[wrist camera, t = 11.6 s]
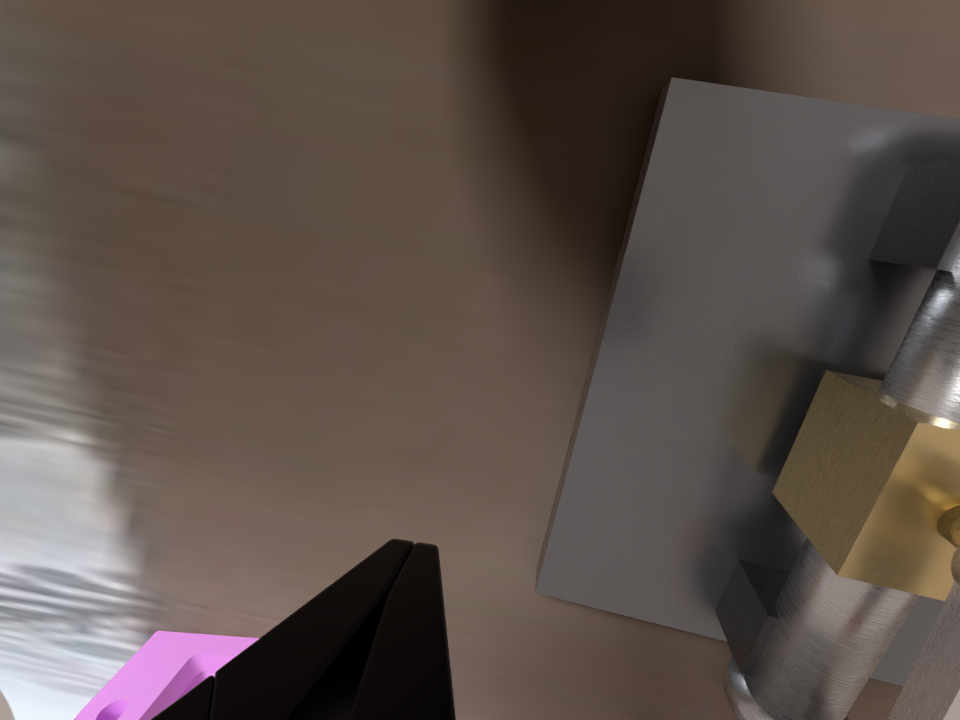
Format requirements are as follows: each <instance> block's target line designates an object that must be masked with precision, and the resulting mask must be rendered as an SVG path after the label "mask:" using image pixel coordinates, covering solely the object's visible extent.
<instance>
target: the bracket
mask: <svg viewBox="0 0 960 720" xmlns="http://www.w3.org/2000/svg"><path fill="white" fill-rule="evenodd" d="M258 639H259V638H246V637H233V636H220V635H206V634H193V633H180V632H167V631H157V632H156V633H155V634H154V635H153V636H152V637H151V638H150V639H149V640H148V641H147V642H146V643H145V644H144V645H143V646H142V647H141V648H140V649H139V650H138V652H137V653H136V654H135V655H134V656H133V657H132V658H131V659H130V660H129V661H128V662H127V663H126V664H125V665H124V666H123V667H122V668H121V669H120V670H119V671H118V673H117V674H116V675H115V676H114V677H113V678H112V679H111V680H110V681H109V682H108V683H107V684H106V685H105V686H104V687H103V688H102V689H101V690H100V691H99V693H98V694H97V695H96V696H95V697H94V698H93V699H92V700H91V701H90V702H89V703H88V704H87V705H86V706H85V707H84V708H83V709H82V710H81V712H80V713H79V714H78V715H77V716H76V718H75V719H74V720H150V719H152V718H153V717H154V716H156V715H157V714H159V713H160V712H161V711H163V710H164V709H166V708H167V707H168V706H170V705H171V704H172V703H174V702H175V701H177V700H178V699H179V698H181V697H182V696H183V695H185V694H186V693H187V692H189V691H190V690H191V689H193V688H194V687H195V686H197V685H198V684H199V683H201V682H202V681H203V680H205V679H206V678H207V677H209V676H211V675H212V676H214V677H215V672H216V671H217V670H218V669H220V668H221V667H222V666H224V665H225V664H226V663H228V662H229V661H230V660H232V659H233V658H234V657H236V656H237V655H238V654H240V653H241V652H242V651H244V650H245V649H246V648H248V647H249V646H250V645H252V644H253V643H254V642H256V641H257V640H258Z"/></svg>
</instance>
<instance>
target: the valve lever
mask: <svg viewBox="0 0 960 720" xmlns="http://www.w3.org/2000/svg"><path fill="white" fill-rule="evenodd" d="M951 572H952V576H953V579H954V583H953V585H952V588H951V590H950V592H949V594H948V596H947V598H946V600H945V602H944V604H943V606H942V608H941V610H940V612H939V614H938V616H937V618H936V620H935V622H934V624H933V626H932V629H931V631H930V633H929V635H928V637H927V639H926V641H925V643H924V645H923V647H922V649H921V651H920V653H919V655H918V657H917V659H916V661H915V663H914V665H913V667H912V670H911V672H910V674H909V676H908V678H907V680H906V682H905V684H904V686H903V688H902V690H901V692H900V694H899V696H898V698H897V700H896V702H895V704H894V706H893V709H892V711H891V713H890V715H889V717H888V719H887V720H960V544H959V546H958V547H957V549H956V551H955V552H954V555H953V557H952V561H951Z"/></svg>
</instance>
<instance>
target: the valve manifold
mask: <svg viewBox="0 0 960 720" xmlns="http://www.w3.org/2000/svg"><path fill="white" fill-rule="evenodd" d="M959 544H960V119H954V118H947V117H940V116H933V115H927V114H920V113H913V112H906V111H899V110H892V109H886V108H879V107H872V106H865V105H858V104H851V103H845V102H838V101H831V100H824V99H817V98H810V97H804V96H797V95H790V94H783V93H776V92H769V91H763V90H756V89H749V88H742V87H735V86H729V85H722V84H715V83H708V82H701V81H694V80H688V79H681V78H674V77H672V78H671V79H670V80H669V81H668V82H667V83H666V85H665V86H664V87H663V88H662V90H661V94H660V98H659V102H658V105H657V109H656V113H655V117H654V121H653V125H652V128H651V132H650V136H649V140H648V144H647V148H646V151H645V155H644V159H643V163H642V167H641V171H640V174H639V178H638V182H637V186H636V190H635V194H634V198H633V201H632V205H631V209H630V213H629V217H628V221H627V224H626V228H625V232H624V236H623V240H622V244H621V247H620V251H619V255H618V259H617V263H616V267H615V270H614V274H613V278H612V282H611V286H610V290H609V294H608V297H607V301H606V305H605V309H604V313H603V317H602V320H601V324H600V328H599V332H598V336H597V340H596V343H595V347H594V351H593V355H592V359H591V363H590V366H589V370H588V374H587V378H586V382H585V386H584V390H583V393H582V397H581V401H580V405H579V409H578V413H577V416H576V420H575V424H574V428H573V432H572V436H571V439H570V443H569V447H568V451H567V455H566V459H565V462H564V466H563V470H562V474H561V478H560V482H559V486H558V489H557V493H556V497H555V501H554V505H553V509H552V512H551V516H550V520H549V524H548V528H547V532H546V535H545V539H544V543H543V547H542V551H541V555H540V558H539V562H538V566H537V570H536V589H535V593H538V594H542V595H545V596H549V597H553V598H557V599H561V600H565V601H569V602H573V603H577V604H581V605H585V606H589V607H593V608H597V609H600V610H604V611H608V612H612V613H616V614H620V615H624V616H628V617H632V618H636V619H640V620H644V621H648V622H652V623H656V624H659V625H663V626H667V627H671V628H675V629H679V630H683V631H687V632H691V633H695V634H699V635H703V636H707V637H711V638H714V639H718V640H722V641H726V642H728V644H729V647H730V649H731V652H732V654H733V656H732V658H731V660H730V663H729V665H728V667H727V669H726V671H725V674H724V688H725V692H726V695H727V698H728V700H729V703H730V705H731V706H732V708H733V710H734V712H735V713H736V715H737V716H738V718H739V719H740V720H848V717H847V716H846V715H847V714H848V712H849V710H850V709H851V707H852V705H853V704H854V702H855V701H856V699H857V697H858V696H859V694H860V692H861V691H862V689H863V688H864V686H865V684H866V683H867V681H868V679H869V678H872V679H876V680H880V681H884V682H887V683H891V684H895V685H899V686H904V684H905V682H906V680H907V678H908V676H909V674H910V672H911V670H912V667H913V665H914V663H915V661H916V659H917V657H918V655H919V653H920V651H921V649H922V647H923V645H924V643H925V641H926V639H927V637H928V635H929V633H930V631H931V629H932V626H933V624H934V622H935V620H936V618H937V616H938V614H939V612H940V610H941V608H942V606H943V604H944V602H945V600H946V598H947V596H948V594H949V592H950V590H951V588H952V585H953V583H954V579H953V576H952V572H951V561H952V557H953V555H954V552H955V551H956V549H957V547H958V546H959Z"/></svg>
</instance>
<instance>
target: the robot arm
mask: <svg viewBox="0 0 960 720" xmlns="http://www.w3.org/2000/svg"><path fill="white" fill-rule="evenodd" d="M150 720H456V717H455V708H454V698H453V688H452V678H451V668H450V658H449V648H448V638H447V629H446V619H445V609H444V599H443V589H442V579H441V569H440V559H439V550H438V547H437V546H436V545H433V544H426V543H416V544H414V543H413V542H412V541H407V540H400V539H392V540H390V541H388V542H387V543H386V544H384V545H383V546H382V547H380V548H379V549H378V550H376V551H375V552H374V553H372V554H371V555H370V556H368V557H367V558H366V559H364V560H363V561H362V562H360V563H359V564H358V565H356V566H355V567H354V568H352V569H351V570H350V571H348V572H347V573H346V574H344V575H343V576H342V577H341V578H339V579H338V580H337V581H335V582H334V583H333V584H331V585H330V586H329V587H327V588H326V589H325V590H323V591H322V592H321V593H319V594H318V595H317V596H315V597H314V598H313V599H311V600H310V601H309V602H307V603H306V604H305V605H303V606H302V607H301V608H299V609H298V610H297V611H295V612H294V613H293V614H291V615H290V616H289V617H287V618H286V619H285V620H283V621H282V622H281V623H279V624H278V625H277V626H275V627H274V628H273V629H271V630H270V631H269V632H267V633H266V634H265V635H263V636H262V637H261V638H260V639H258V640H257V641H256V642H254V643H253V644H252V645H250V646H249V647H248V648H246V649H245V650H244V651H242V652H241V653H240V654H238V655H237V656H236V657H234V658H233V659H232V660H230V661H229V662H228V663H226V664H225V665H224V666H222V667H221V668H220V669H218V670H217V671H216V672H215V677H214V676H212V675H211V676H209V677H207V678H206V679H205V680H203V681H202V682H201V683H199V684H198V685H197V686H195V687H194V688H193V689H191V690H190V691H189V692H187V693H186V694H185V695H183V696H182V697H181V698H179V699H178V700H177V701H175V702H174V703H172V704H171V705H170V706H168V707H167V708H166V709H164V710H163V711H161V712H160V713H159V714H157V715H156V716H154V717H153V718H152V719H150Z"/></svg>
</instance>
